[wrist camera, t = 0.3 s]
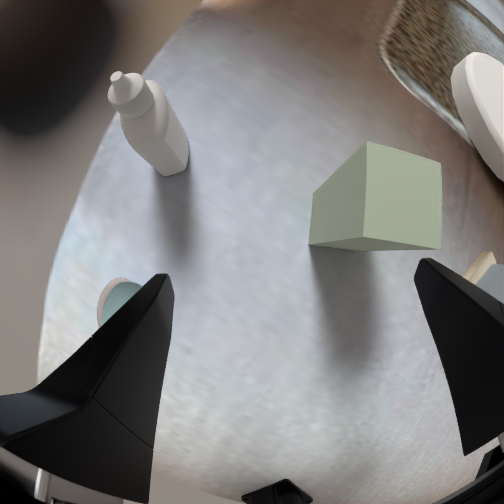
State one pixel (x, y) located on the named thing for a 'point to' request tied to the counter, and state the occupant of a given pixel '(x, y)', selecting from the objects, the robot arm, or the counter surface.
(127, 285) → the pacifier
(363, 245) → the pillar block
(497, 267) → the tower middle
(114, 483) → the robot arm
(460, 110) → the container
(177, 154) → the eye dropper bottle
